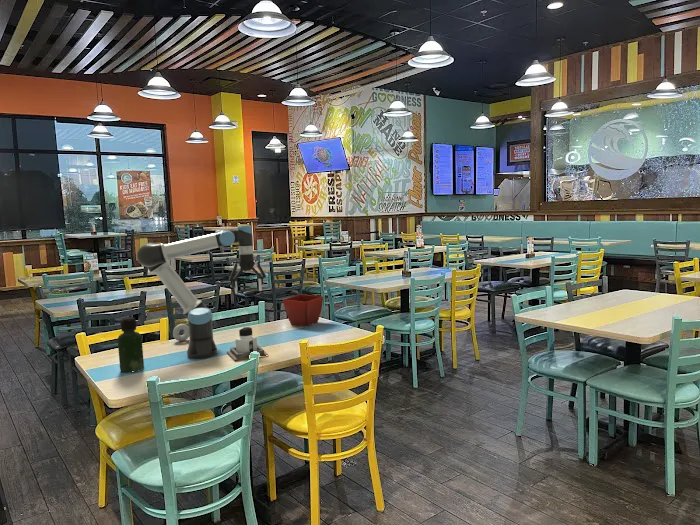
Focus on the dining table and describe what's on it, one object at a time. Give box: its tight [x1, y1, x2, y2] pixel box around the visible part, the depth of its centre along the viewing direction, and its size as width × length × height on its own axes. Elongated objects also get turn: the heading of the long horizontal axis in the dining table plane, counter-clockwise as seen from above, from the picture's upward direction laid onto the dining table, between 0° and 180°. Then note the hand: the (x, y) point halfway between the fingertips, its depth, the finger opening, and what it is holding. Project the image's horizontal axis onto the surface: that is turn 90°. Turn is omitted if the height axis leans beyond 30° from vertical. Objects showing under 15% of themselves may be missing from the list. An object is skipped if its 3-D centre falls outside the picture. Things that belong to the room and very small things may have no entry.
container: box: [235, 326, 258, 353], centre depth 260 cm, size 8×8×13 cm
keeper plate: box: [226, 344, 269, 362], centre depth 260 cm, size 17×17×3 cm
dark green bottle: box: [117, 316, 145, 373], centre depth 241 cm, size 10×10×25 cm
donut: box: [172, 323, 190, 342], centre depth 292 cm, size 10×4×10 cm, turn 126°
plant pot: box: [282, 294, 324, 327], centre depth 324 cm, size 19×19×17 cm
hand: (248, 292), depth 279 cm, fingers open, 13 cm apart
